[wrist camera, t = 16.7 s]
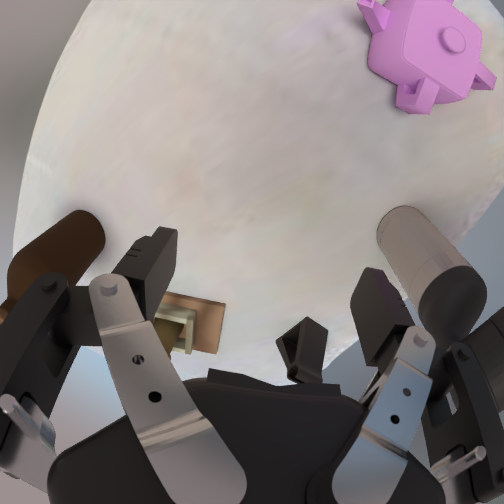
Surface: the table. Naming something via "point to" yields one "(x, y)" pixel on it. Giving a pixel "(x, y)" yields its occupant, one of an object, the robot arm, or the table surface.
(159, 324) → the cork
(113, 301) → the robot arm
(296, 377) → the phone stand
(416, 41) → the teakettle
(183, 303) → the socket board
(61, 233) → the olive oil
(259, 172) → the table surface
